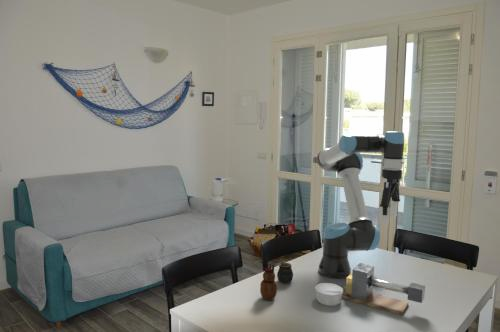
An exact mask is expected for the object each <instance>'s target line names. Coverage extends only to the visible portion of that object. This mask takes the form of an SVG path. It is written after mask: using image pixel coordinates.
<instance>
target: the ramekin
mask: <svg viewBox="0 0 500 332" xmlns="http://www.w3.org/2000/svg"><path fill="white" fill-rule="evenodd" d="M314 291H315V296H316V297H315V298H316V300H317V302H318V303H320V304H321V305H324V306H329V307H333V306H334V307H335V306H338V305H339V304H340V303H341V302H342V294H343V287H341V286H340V285H338V284H335V283H331V282H321V283H318V284H316V285H315V287H314Z"/></svg>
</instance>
